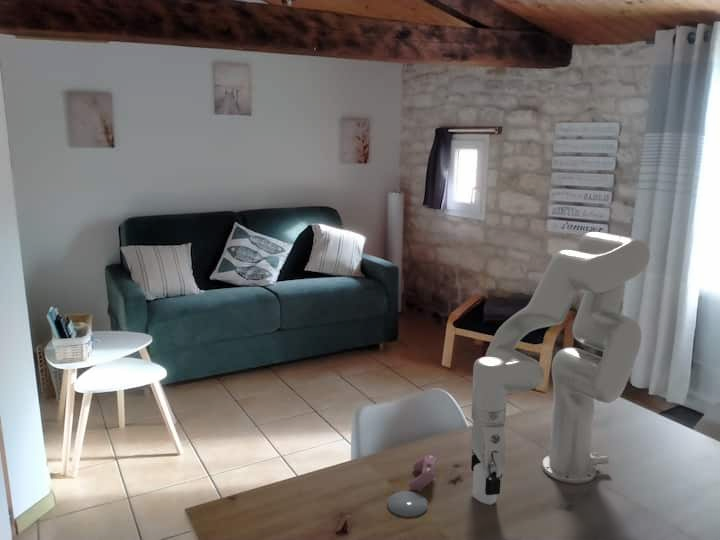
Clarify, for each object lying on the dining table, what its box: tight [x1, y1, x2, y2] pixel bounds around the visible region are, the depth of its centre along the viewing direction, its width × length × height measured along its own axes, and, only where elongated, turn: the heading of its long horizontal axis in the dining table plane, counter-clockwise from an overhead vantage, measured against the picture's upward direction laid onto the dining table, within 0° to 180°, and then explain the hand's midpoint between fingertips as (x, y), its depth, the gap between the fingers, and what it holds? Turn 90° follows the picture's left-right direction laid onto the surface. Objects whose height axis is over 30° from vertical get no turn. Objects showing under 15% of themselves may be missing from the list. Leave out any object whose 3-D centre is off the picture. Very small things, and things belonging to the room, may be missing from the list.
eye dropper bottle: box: [471, 462, 498, 506], centre depth 138 cm, size 4×6×12 cm
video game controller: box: [408, 454, 437, 491], centre depth 146 cm, size 10×5×7 cm, turn 169°
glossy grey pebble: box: [387, 490, 429, 518], centre depth 137 cm, size 9×9×1 cm
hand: (484, 481), depth 139 cm, fingers open, 9 cm apart
